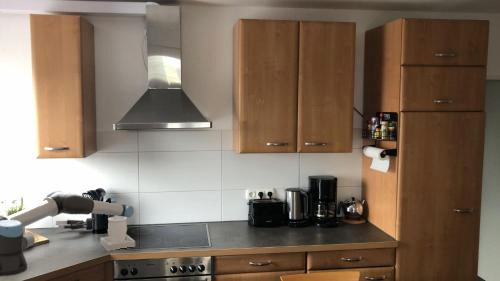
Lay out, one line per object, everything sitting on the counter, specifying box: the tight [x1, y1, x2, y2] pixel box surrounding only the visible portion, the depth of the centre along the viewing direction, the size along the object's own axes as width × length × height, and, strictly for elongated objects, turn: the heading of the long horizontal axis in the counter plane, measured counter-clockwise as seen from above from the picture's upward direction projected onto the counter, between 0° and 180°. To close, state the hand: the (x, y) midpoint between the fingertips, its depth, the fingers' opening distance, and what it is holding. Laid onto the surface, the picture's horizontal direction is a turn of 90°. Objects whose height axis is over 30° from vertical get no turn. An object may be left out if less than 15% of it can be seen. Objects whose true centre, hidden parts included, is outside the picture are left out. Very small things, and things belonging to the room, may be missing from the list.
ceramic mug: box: [23, 233, 36, 251], centre depth 243 cm, size 11×8×8 cm
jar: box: [107, 216, 128, 244], centre depth 251 cm, size 11×10×15 cm
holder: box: [99, 233, 136, 252], centre depth 252 cm, size 15×16×4 cm
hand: (57, 224), depth 269 cm, fingers open, 13 cm apart
